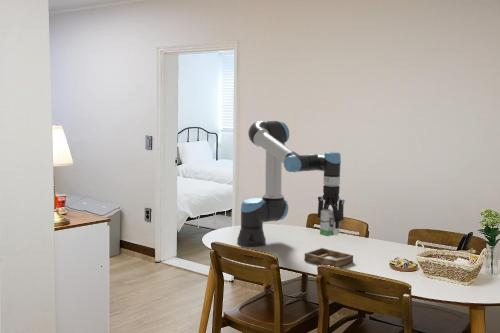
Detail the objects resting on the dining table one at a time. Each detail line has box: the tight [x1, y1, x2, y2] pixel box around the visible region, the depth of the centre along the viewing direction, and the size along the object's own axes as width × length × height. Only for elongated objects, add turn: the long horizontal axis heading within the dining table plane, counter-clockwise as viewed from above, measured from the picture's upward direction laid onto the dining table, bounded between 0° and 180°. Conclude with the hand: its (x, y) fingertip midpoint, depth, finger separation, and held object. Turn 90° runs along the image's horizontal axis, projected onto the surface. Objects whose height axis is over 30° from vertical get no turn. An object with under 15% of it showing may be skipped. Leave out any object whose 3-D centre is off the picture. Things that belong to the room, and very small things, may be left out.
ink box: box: [319, 207, 341, 237], centre depth 248 cm, size 9×5×12 cm, turn 128°
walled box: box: [304, 247, 354, 268], centre depth 250 cm, size 18×14×4 cm
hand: (329, 233), depth 248 cm, fingers closed on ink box, 5 cm apart
